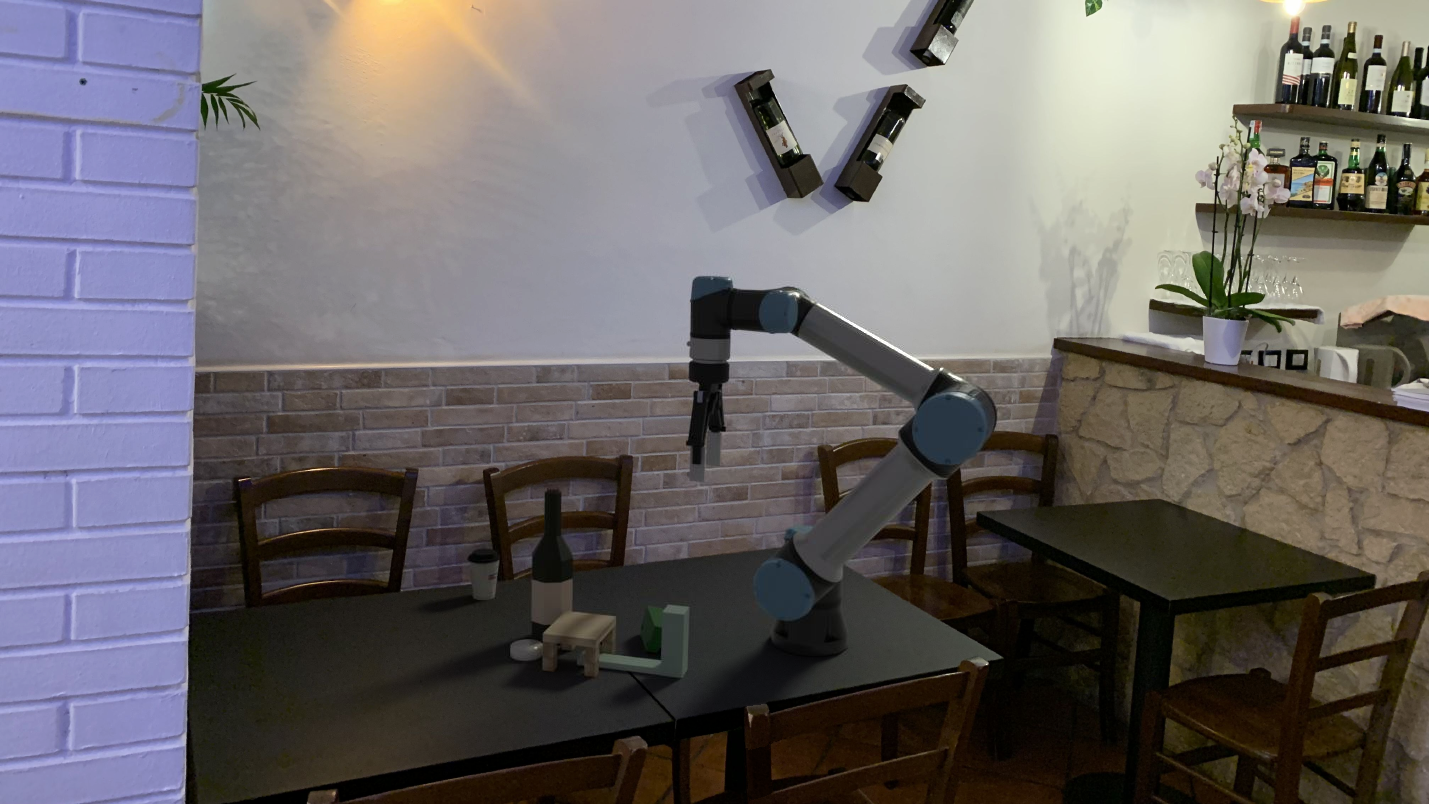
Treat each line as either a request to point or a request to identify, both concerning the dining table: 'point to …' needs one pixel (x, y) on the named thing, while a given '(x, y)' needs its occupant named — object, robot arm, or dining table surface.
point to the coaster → (526, 650)
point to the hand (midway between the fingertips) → (705, 473)
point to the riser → (580, 638)
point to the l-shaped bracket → (671, 648)
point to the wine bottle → (551, 570)
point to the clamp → (652, 629)
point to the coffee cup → (483, 573)
